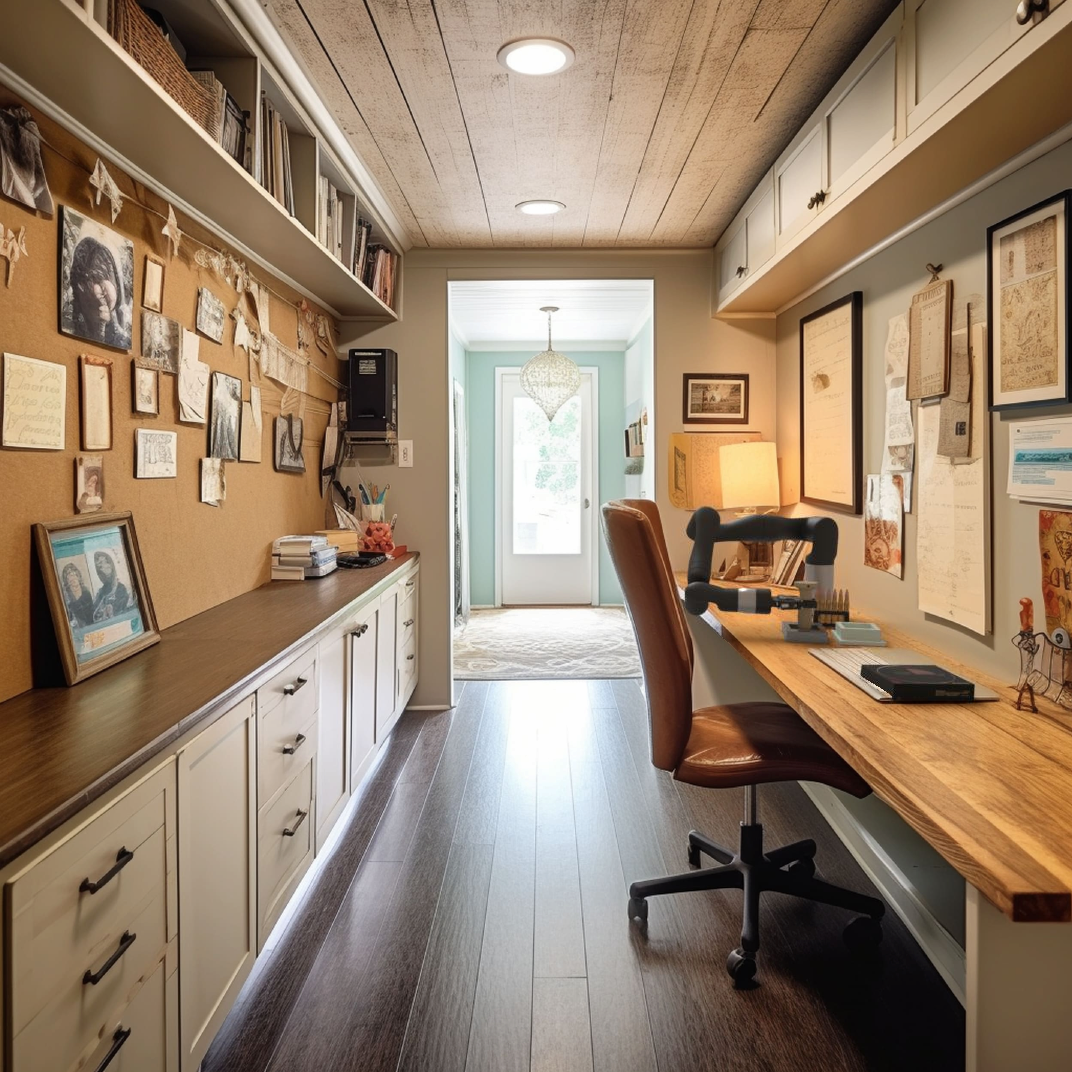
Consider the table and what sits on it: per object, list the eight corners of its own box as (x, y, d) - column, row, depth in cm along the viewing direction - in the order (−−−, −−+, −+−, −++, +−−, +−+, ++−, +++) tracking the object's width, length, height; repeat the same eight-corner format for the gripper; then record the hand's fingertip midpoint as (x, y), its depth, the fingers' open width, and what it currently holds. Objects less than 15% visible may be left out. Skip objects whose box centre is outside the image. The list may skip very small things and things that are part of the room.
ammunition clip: (848, 627, 236) (849, 588, 235) (849, 628, 234) (850, 589, 233) (812, 625, 238) (813, 587, 238) (812, 626, 237) (813, 588, 236)
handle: (790, 631, 223) (792, 581, 221) (813, 632, 222) (814, 581, 221) (795, 635, 218) (797, 583, 217) (818, 635, 218) (820, 583, 216)
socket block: (781, 631, 229) (781, 621, 229) (820, 632, 227) (820, 622, 226) (786, 641, 214) (786, 631, 213) (827, 643, 211) (828, 633, 211)
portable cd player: (932, 681, 173) (933, 664, 173) (973, 703, 156) (974, 684, 156) (859, 681, 173) (860, 663, 173) (893, 702, 156) (893, 683, 156)
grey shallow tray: (830, 633, 226) (831, 619, 226) (874, 635, 223) (874, 621, 223) (839, 644, 210) (839, 630, 210) (886, 646, 208) (886, 632, 207)
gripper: (755, 591, 215) (819, 594, 212) (753, 584, 229) (813, 586, 225) (754, 617, 216) (818, 620, 212) (752, 609, 230) (812, 611, 226)
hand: (815, 603), depth 219 cm, fingers closed on handle, 3 cm apart
